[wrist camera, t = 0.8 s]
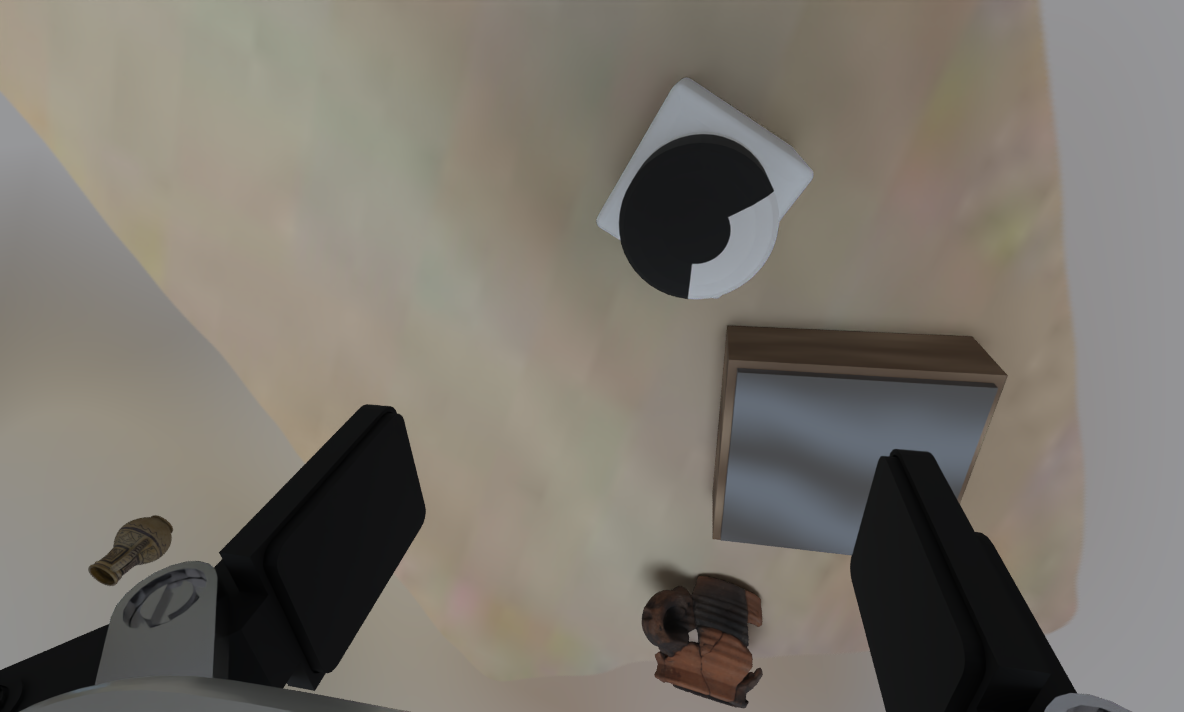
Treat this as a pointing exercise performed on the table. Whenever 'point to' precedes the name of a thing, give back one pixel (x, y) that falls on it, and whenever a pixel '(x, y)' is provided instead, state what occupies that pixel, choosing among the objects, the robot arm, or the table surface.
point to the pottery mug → (705, 639)
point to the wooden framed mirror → (838, 426)
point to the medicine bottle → (702, 196)
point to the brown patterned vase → (133, 548)
